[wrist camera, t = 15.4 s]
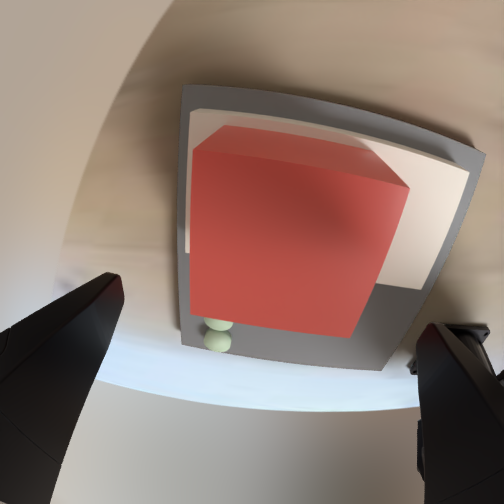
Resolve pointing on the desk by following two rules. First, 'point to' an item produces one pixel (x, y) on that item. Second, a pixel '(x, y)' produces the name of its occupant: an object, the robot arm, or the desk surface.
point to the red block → (288, 229)
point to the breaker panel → (382, 297)
